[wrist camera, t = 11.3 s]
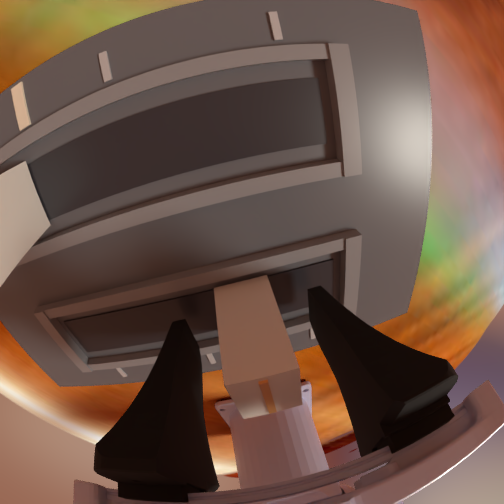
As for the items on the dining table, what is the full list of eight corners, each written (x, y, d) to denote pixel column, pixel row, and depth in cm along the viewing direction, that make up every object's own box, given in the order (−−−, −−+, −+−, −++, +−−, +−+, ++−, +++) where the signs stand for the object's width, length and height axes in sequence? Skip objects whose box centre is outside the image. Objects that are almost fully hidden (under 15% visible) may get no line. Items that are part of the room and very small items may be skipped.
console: (398, 301, 17) (411, 318, 16) (63, 374, 16) (58, 392, 15) (401, 14, 7) (425, 9, 6) (-60, 163, 6) (-78, 174, 5)
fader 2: (275, 320, 14) (303, 406, 9) (229, 331, 14) (244, 421, 9) (266, 275, 12) (300, 370, 8) (213, 287, 12) (224, 388, 8)
